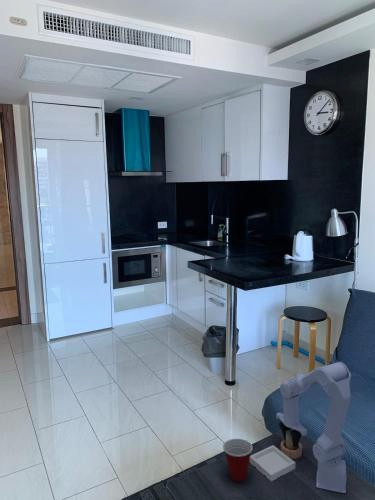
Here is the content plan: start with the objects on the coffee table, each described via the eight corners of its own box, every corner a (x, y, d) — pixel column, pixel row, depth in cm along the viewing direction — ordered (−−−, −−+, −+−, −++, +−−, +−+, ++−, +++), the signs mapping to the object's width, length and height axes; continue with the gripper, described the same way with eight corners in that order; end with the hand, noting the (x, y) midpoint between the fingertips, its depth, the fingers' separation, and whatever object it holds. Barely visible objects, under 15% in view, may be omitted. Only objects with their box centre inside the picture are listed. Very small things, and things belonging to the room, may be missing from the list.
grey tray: (273, 450, 151) (272, 445, 151) (295, 468, 141) (295, 462, 140) (249, 462, 145) (249, 456, 145) (271, 481, 135) (271, 475, 134)
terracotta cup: (302, 446, 153) (302, 440, 152) (301, 460, 145) (301, 453, 145) (282, 443, 155) (282, 437, 155) (279, 456, 148) (279, 449, 147)
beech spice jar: (297, 448, 151) (296, 427, 150) (296, 455, 148) (296, 433, 146) (286, 446, 153) (286, 426, 152) (285, 453, 149) (285, 432, 148)
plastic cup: (250, 464, 144) (249, 435, 142) (256, 486, 133) (255, 454, 131) (222, 466, 144) (221, 437, 142) (225, 487, 133) (224, 456, 131)
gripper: (312, 416, 144) (312, 449, 145) (285, 400, 156) (285, 430, 158) (299, 422, 140) (299, 456, 142) (272, 405, 153) (272, 436, 154)
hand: (291, 443), depth 150 cm, fingers closed on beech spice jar, 4 cm apart
